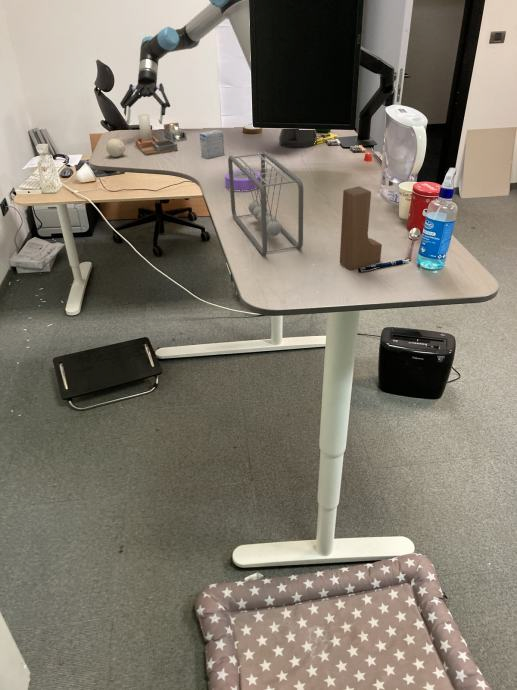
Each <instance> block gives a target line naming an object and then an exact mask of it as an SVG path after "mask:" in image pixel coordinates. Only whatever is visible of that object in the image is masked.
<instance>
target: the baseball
mask: <svg viewBox="0 0 517 690" xmlns="http://www.w3.org/2000/svg"><path fill="white" fill-rule="evenodd" d="M105 145H106V146H105V149H106V152H107V153H108V155H109V156H111V157H114V158H118V157H121V156H122V155H123V154H124V153H125V152H126V145H125V143H124V142H123V141H122V140H121V139H119V138H111V139H108V141H106V144H105Z"/></svg>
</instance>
